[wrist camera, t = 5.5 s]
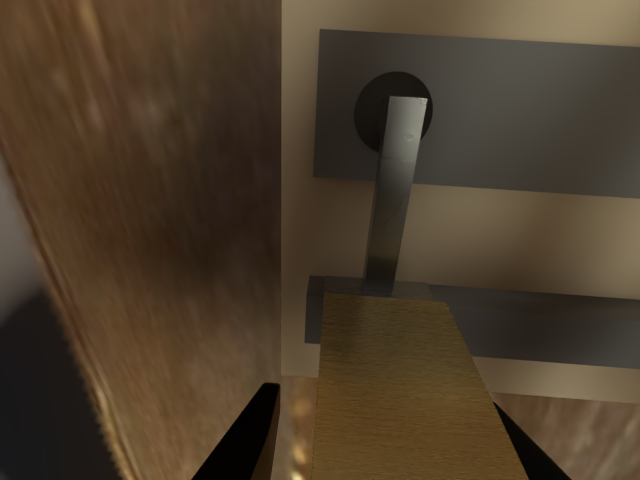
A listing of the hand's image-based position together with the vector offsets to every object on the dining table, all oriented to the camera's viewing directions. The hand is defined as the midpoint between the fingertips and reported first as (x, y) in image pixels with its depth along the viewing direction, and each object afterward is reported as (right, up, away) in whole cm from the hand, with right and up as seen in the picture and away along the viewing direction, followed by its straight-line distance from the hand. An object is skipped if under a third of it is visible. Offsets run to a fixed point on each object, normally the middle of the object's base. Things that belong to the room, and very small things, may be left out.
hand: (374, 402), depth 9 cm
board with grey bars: (+6, +5, +3) cm, 9 cm away
